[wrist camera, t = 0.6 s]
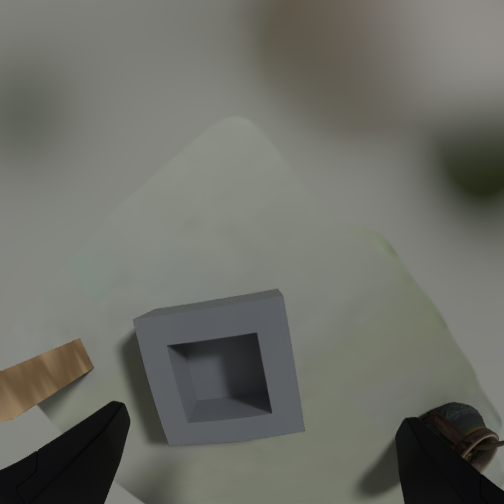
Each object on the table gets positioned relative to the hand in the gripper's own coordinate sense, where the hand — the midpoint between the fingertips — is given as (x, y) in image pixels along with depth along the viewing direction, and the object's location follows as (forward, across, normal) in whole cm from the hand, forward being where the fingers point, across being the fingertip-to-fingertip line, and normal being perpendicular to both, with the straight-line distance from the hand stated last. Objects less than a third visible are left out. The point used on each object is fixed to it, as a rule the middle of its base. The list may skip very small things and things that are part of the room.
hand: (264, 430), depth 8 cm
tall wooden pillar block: (+12, +17, +10) cm, 23 cm away
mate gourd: (+12, -18, +16) cm, 27 cm away
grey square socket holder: (+14, +3, +8) cm, 16 cm away
